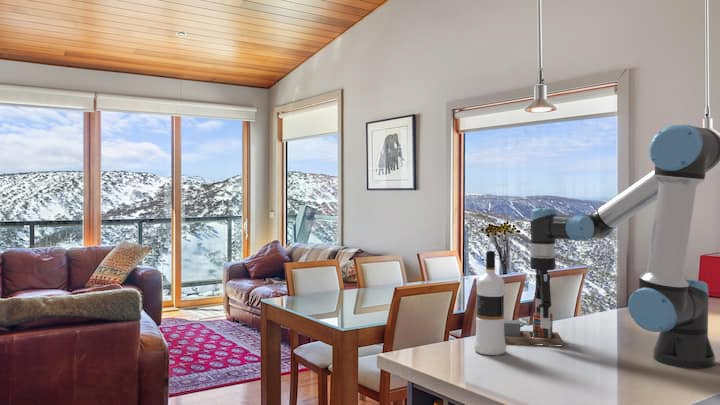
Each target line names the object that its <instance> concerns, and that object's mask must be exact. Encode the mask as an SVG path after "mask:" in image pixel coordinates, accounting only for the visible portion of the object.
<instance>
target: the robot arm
mask: <svg viewBox="0 0 720 405" xmlns="http://www.w3.org/2000/svg"><path fill="white" fill-rule="evenodd" d="M648 152H649V157H650V160H651V162H652V163H653V164H654V168H653V170H652V171H650V172H648V173H647V174H645V175H643V177H641V178H640V179H639V180H637V181H635V182H634V183H632V184H631V185H630V186H628V187H627V188H626V189H624V190H622V191H621V192H620V193H618V194H617V195H615V196H614V197H613V198H611V199H610V200H608V201H607V202H606V203H604V204H603V205H601V206H600V207H599V208H598V209H596V210H595V211H593V212H592V213H590V214H571V215H570V214H568V215H567V214H557V213H556V209H555V208H549V207H548V208H546V207H543V208H541V207H540V208H538V207H537V208H536V207H535V208H533V209H532V210H531V211H530V221H529V222H530V223H529V224H530V246H529V248H530V249H529V250H530V252H529V253H530V254H529V255H530V256H531V258H530V268H531V270H536V271H535V272H536V274H535V289H534V290H535V291H534V292H535V293H534V295H535V307H536V306H537V305H539V307H541V328H545V329H550V313H551V307H552V298H551V281H550V280H551V275H550V274H549V273H548V271H553V270H555V269H556V258H555V256H556V250H557V249H558V247H557V246H556V240H564V241H567V240H568V241H575V242H578V241H579V242H581V241H584V242H585V241H589V240H590V239H592V240H593V239H602V238H607V237H609V236H610V235H611V234H612V233H613V232H614V229H615V228H616V227H617V226H620V225H622V223H624V222H626V221H627V220H628V219H630V218H632V217H633V216H635V215H636V214H638V213H639V212H641V211H643V209H646V208H647V207H648V206H650V205H651V204H653V203H655V202H656V204H655V212H654V218H653V225H652V231H651V237H650V238H651V240H650V247H649V253H648V260H647V265H646V266H647V267H646V271H645V272H643V273H642V274H641V275H640V276H639V278H638V285H637V289H636V290H635V291H633V292H632V293H631V295H630V296H629V298H628V302H627V307H628V312H629V315H630V317H631V318H632V320H633V321H634V323H635V324H636V325H637V326H638V327H640V328H641V329H643V330H645V331H647V332H653V333H659V334H658V336H657V339H656V342H655V345H654V347H653V352H652V353H653V354H652V356H653V359H654V360H656V361H657V362H659V363H662V364H666V365H669V366H674V367H679V368H680V367H681V368H689V369H709V368H713V367H715V366H716V356H715V352H714V350H713V346H712V344H711V341H710V339H709V295H710V293H709V286H708V284H707V283H706V281H705V282H704V281H702V280H693V279H685V277H684V272H685V267H686V266H685V265H686V261H687V260H686V259H687V253H688V252H687V251H688V246H689V238H690V232H691V225H692V219H693V212H694V204H695V198H696V192H697V188H698V185H699V184H701V183H703V182H704V181H705V179H706V173H708V172H709V171H711V170H712V169H714V168H715V167H716V166H717V165H718V164H719V162H720V135H719V134H717V132H715V131H713V130H711V129H708V128H706V127H705V128H704V127H699V126H693V125H691V124H690V125H689V124H674V125H669V126H666V127H664V128H662V129H661V130H659V131H658V132H657V133H656V134H655V136H654V137H653V138H652V140H651V141H650V145H649V151H648ZM536 311H537V310H536V309H535V312H536Z"/></svg>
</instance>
